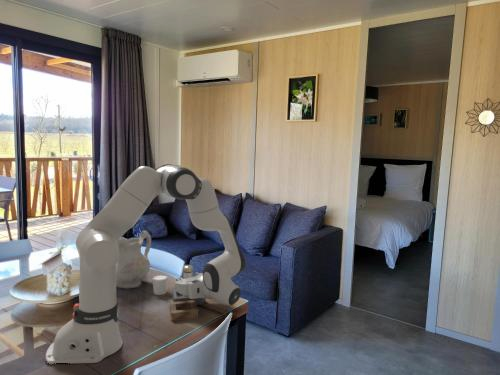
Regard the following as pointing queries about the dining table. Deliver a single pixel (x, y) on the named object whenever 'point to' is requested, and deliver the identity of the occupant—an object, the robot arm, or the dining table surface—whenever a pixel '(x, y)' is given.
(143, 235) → the ceramic pitcher
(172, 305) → the socket block
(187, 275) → the steel pin
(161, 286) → the shot glass
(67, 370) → the dining table surface
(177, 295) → the tray
